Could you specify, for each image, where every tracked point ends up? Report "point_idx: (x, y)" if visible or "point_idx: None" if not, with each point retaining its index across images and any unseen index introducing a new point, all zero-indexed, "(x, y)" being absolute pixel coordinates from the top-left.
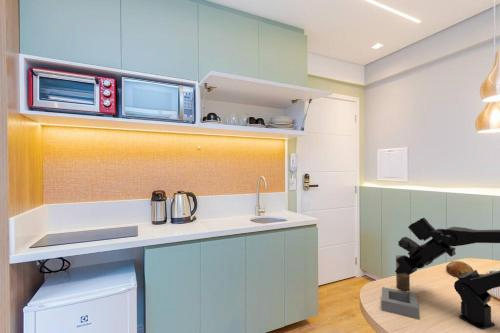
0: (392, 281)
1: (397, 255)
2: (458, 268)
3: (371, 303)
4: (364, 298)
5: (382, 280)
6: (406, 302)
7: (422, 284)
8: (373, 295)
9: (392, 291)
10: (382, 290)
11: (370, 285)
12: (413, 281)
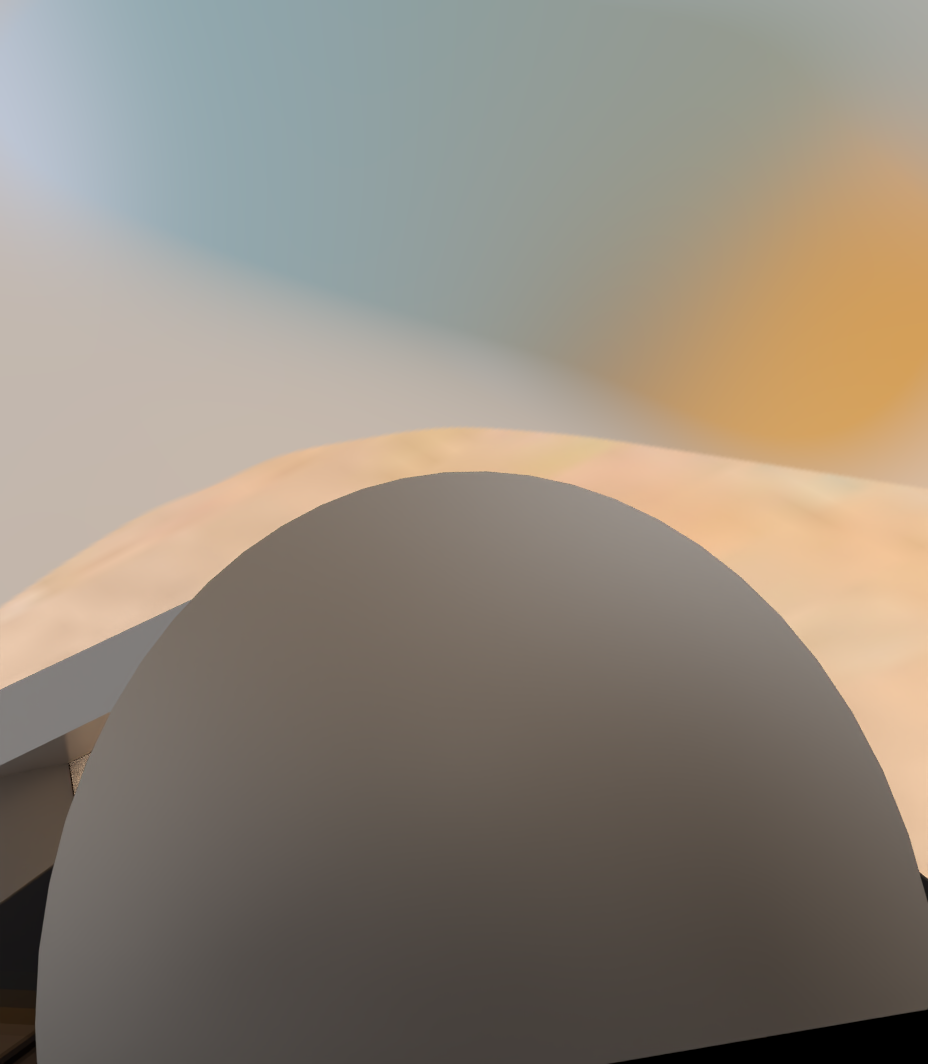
0: (658, 510)
1: (542, 488)
2: None
3: (69, 616)
4: (119, 537)
5: (589, 447)
6: None
7: (917, 744)
8: (225, 553)
9: None
10: (130, 634)
11: (393, 442)
12: (885, 640)
